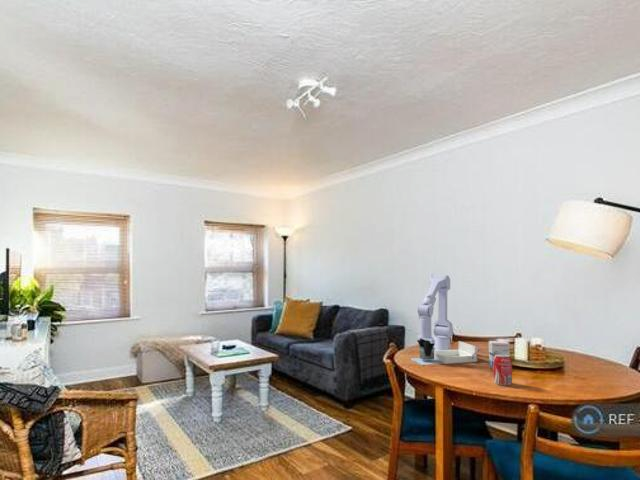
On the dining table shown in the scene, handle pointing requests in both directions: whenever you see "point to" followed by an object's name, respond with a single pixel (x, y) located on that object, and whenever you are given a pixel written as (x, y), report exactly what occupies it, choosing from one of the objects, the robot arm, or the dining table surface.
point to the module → (423, 353)
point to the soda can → (502, 369)
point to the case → (457, 354)
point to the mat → (425, 361)
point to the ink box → (497, 349)
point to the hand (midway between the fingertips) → (426, 355)
